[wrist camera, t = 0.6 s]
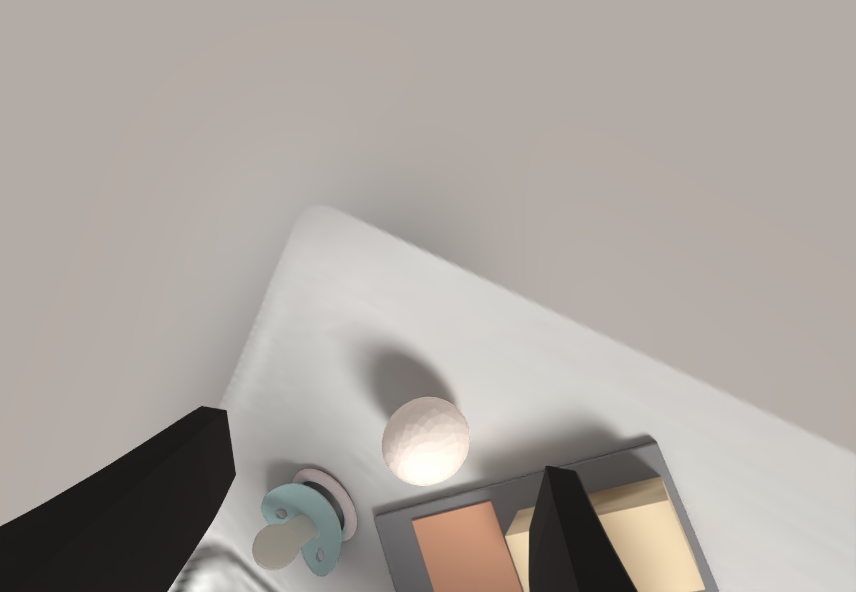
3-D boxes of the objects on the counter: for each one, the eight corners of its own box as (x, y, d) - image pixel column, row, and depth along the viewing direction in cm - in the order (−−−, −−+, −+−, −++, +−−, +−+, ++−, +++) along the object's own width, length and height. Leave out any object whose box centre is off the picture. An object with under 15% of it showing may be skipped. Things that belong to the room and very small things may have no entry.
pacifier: (310, 448, 38) (271, 506, 39) (256, 469, 32) (212, 536, 33) (377, 514, 36) (334, 574, 36) (332, 550, 30) (282, 620, 31)
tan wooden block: (661, 476, 28) (668, 499, 24) (693, 553, 27) (705, 589, 24) (518, 510, 31) (505, 536, 27) (543, 580, 30) (533, 617, 26)
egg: (442, 481, 34) (398, 523, 27) (396, 420, 35) (344, 445, 28) (497, 435, 32) (465, 466, 25) (447, 374, 34) (405, 388, 27)
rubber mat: (744, 652, 27) (747, 659, 26) (430, 689, 33) (427, 696, 33) (656, 441, 29) (657, 443, 28) (377, 514, 35) (373, 518, 35)
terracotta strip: (549, 667, 30) (549, 670, 30) (463, 678, 32) (462, 680, 32) (491, 500, 32) (490, 501, 31) (413, 520, 34) (411, 521, 33)
